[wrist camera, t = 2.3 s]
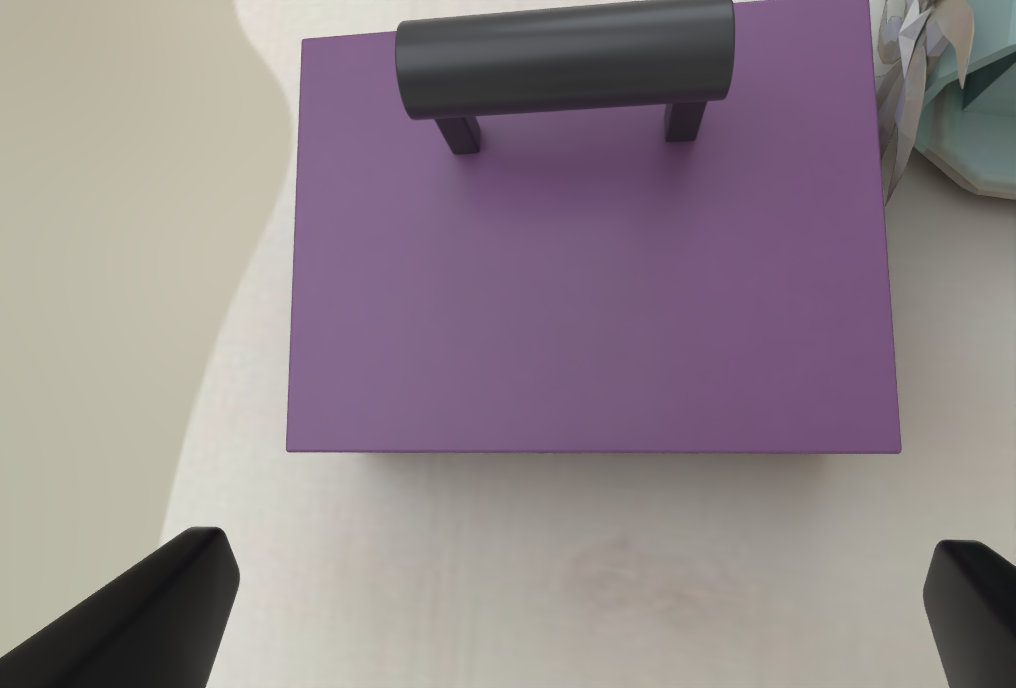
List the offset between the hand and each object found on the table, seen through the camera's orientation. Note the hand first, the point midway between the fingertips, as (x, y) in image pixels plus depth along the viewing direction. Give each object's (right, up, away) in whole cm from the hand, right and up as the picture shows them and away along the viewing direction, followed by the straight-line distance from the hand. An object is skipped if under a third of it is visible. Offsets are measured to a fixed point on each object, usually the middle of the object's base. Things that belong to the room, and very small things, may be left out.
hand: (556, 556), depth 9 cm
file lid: (+1, +5, +8) cm, 10 cm away
